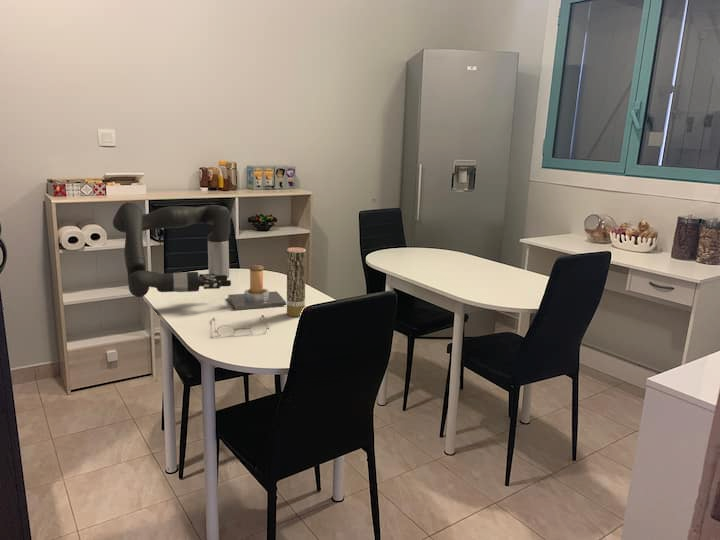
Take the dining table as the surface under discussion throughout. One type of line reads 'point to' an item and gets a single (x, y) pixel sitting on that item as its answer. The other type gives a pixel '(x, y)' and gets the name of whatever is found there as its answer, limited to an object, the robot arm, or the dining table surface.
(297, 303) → the paper tube
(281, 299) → the plate
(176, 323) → the dining table surface
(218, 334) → the eyeglasses
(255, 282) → the capped orange cylinder
